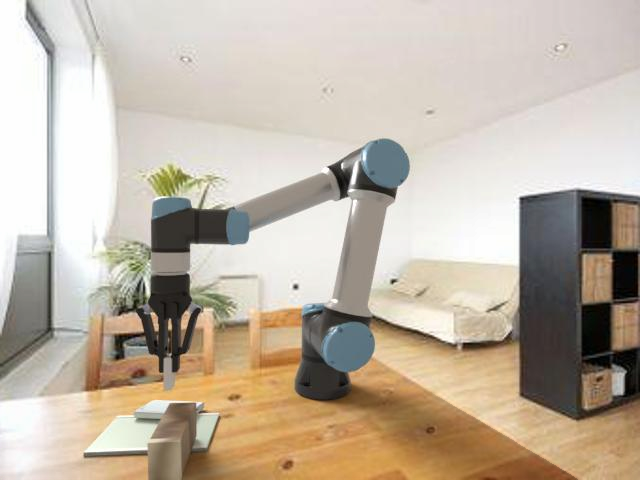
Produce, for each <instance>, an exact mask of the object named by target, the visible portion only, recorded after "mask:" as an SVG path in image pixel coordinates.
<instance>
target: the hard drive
mask: <svg viewBox="0 0 640 480" xmlns="http://www.w3.org/2000/svg"><path fill="white" fill-rule="evenodd" d="M190 402H191V401H187V400H186V401H183V400H163V399H162V400H161V399H153V400H151V401H149V402H147V403H146V404H144V405H142V406H141V407H139V408H137V409H136V410H134V412H133V415H134V418H150V419H161V418H162V416H163V415H164V413H165V411H166V409H167V407H168V406H169V404H170V403H190ZM195 402H196V414H197V413H201V411H203V410H204V409H205V402H204V401H195Z"/></svg>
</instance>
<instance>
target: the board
mask: <svg viewBox="0 0 640 480" xmlns="http://www.w3.org/2000/svg"><path fill="white" fill-rule="evenodd" d="M219 418H220V412H204V413H203V412H199V413H197V414H196V429H197V436H196V439H195V442H194V444H193V447H192V450H191V452H194V453H195V452H207V450H208V448H209V445H210V442H211V440H212V436H213V434H214V431H215V429H216V426H217V423H218V420H219ZM160 420H161V419H150V418H134V414H133V415H117V416H115V418H114V419H113V420H112V422H111V423H110V424H109V425H108V426H107V427H106V428H105V429H104V430H103V431H102V432H101V433H100V434H99V435H98V436H97V438H96V439H95V440H93V442H92V443H91V444H90V445H89V446H88V447H87V448H86V449H85V450H84V451H83V457H89V456H90V457H92V456H93V457H95V456H97V457H98V456H115V455H116V456H117V455H118V456H120V455H144V454H146V455H148V445H147V443H148V441H149V439H150V438H151V436H152V435H153V433H154V431H155V429H156V427H157V426H158V424H159V422H160Z"/></svg>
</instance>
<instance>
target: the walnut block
mask: <svg viewBox="0 0 640 480" xmlns="http://www.w3.org/2000/svg"><path fill="white" fill-rule="evenodd" d="M189 402H190V403H170V404H169V406H168V407H167V409H166V411H165V413H164V415H163V416H162V418H161V420H160V422H159V424H158V426H157V427H156V429H155V431H154V433H153V435H152V436H151V438H150V439H149V441H148V443H147V445H148V454H147V469H148V470H147V478H148V479H147V480H182V478H183V474H184V473H185V472H184V471H185V469H186V466H187V463H188V461H189V458H190V455H191V450H192V447H193V444H194V442H195V439H196V436H197V429H196V402H197V401H189Z"/></svg>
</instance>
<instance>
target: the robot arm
mask: <svg viewBox="0 0 640 480" xmlns="http://www.w3.org/2000/svg"><path fill="white" fill-rule="evenodd" d="M410 168H411V163H410V159H409V155H408V154H407V152H406V151H405V149H404V146H402V145H401V144H400V143H399V142H397V141H395V140H393V139H390V138H384V137H383V138H382V137H381V138H377V139H374V140H370V141H369V142H368V141H367V143H365V145H364V146H362V147H360V148H358V149H355V150H353V151H352V152H350V153H349V154H347V155H346V156H344V157H343V158H341V159H340V160H338V161H336V162H335V163H332V164H330V165H328V166H327V165H326V166H325V167H323V168H322V170H321V172H320V173H317V174H315V175H312V176H309V177H306V178H303V179H301V180H299V181H298V180H297V182H294V183H290V184H288V185H285V186H283V187H280V188H278V189H275V190H271V191H269V192H267V193H265V194H262V195H260V196H257V197H254V198H251V199H249V200H246V201H243V202H240V203H238V204H236V205H233V206H230V207H227V208H225V209H220V208H219V209H217V208H216V209H215V208H198V207H197V208H196V207H193V206H192V201H191V199H189V198H186V197H178V196H158V197H156V198H155V199H153V201H152V203H151V205H152V206H151V218H150V248H151V249H150V271H151V272H152V273H153V274H151V275H150V287H149V288H150V290H149V292H150V296H149V297H148V300H147V302H146V304H144V305H141V306H140V307H137V308H136V309H135V313H136V314H137V316H138V317H139V319H140V321H141V326H142V329H143V332H144V337H145V338H144V339H145V341H146V346H147V349H148V354H149V355H150V356H151V355H152V356H156V357H158V372H159V373H160V374H163V378H162V379H163V381H162V382H163V391H166V392H168V391H172V389H173V388H174V387H175V385H176V373H178V372H179V371H180V368H181V355H185V354H187V352H188V351H190V349H191V345H192V341H193V337H194V334H195V329H196V325H197V322H198V318H199V316H200V315H201V313H202V311H203V309H204V308H203V306H202V305H197V304H196V303H194V302H193V299H192V296H191V275H190V274H189V273H188V272H190V271H191V245H221V246H222V245H223V246H225V245H227V246H228V245H230V246H236V245H237V246H238V245H246V244H247V243H248V242H249V239H250V233H251V232H254V231H255V230H258V229H260V228H263V227H265V226H268V225H272V223H276V222H279V221H281V220H283V219H285V218H288V217H291V216H294V215H296V214H298V213H300V212H303V211H306V210H308V209H311V208H313V207H316V206H318V205H321V204H323V203H326V202H329V201H334V202H338V201H341V200H345V199H346V198H349V199H350V201H351V203H350V204H351V205H350V209H349V214H348V217H347V218H348V219H347V223H346V228H345V232H344V237H343V242H342V248H341V251H340V252H341V253H340V256H339V257H340V258H339V262H338V267H337V272H336V277H335V282H334V286H333V290H332V291H333V292H332V295H331V296H332V297H331V299H329V300H328V301H326V302H313V303H312V302H311V303H307V304H304V305H303V307H302V309H301V310H302V311H301V359H300V363H299V365H298V369H297V371H296V375H295V378H294V391H295V392H296V393H297V394H298V395H300V396H302V397H304V398H308V399H312V400H321V401H322V400H323V401H324V400H334V399H335V400H336V399H339V398H342V397H345V396H346V395H348V394H349V393H350V392H351V387H352V386H351V377H350V374H349V373H351V372H356V371H358V370H360V369H362V368H363V367H364V366H366V365H367V364H368V363H369V361H371V359H372V358H373V355H374V352H375V349H376V340H375V335H374V334H373V332H372V330H371V324H372V320H373V319H372V318H373V313H372V312H371V310H370V308H369V306H368V305H369V300H370V296H371V295H370V294H371V292H372V291H371V290H372V285H373V280H374V276H375V270H376V265H377V261H378V254H379V250H380V246H381V241H382V240H381V239H382V235H383V230H384V224H385V220H386V215H387V209H388V207H389V206H391V205H392V204H394V203H395V201H396V198H397V194H398V187H399V186H401V185H402V184H403V183H405V181H406V180H407V179H408V177H409V174H410ZM188 309H189V311H188V313H189V315H190V316H189V317H188V318H189V319H188V321H187V325H186V329H185V332H184V337H183V341H182V320H183V315H184V314H185V313H186V312H187V310H188ZM152 311H153V313H154V314H155V316H156V318H157V324H158V329H157V330H158V337H157V334H156V329H155V326H154V325H155V324H154V322H153V321H154V320H153V318H152V314H151V313H152ZM169 322H170V324H171V352H170V349H169ZM157 338H158V339H157ZM169 352H170V353H169ZM168 353H169V354H168Z"/></svg>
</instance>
